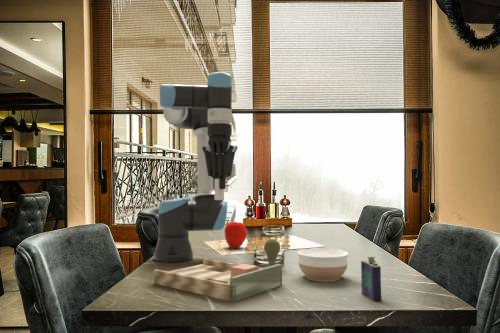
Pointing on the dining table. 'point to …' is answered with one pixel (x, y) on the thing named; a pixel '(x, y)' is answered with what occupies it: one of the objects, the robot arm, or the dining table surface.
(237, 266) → the block
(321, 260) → the bowl
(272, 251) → the light bulb
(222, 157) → the robot arm
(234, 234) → the apple
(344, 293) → the dining table surface
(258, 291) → the box
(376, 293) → the flask
